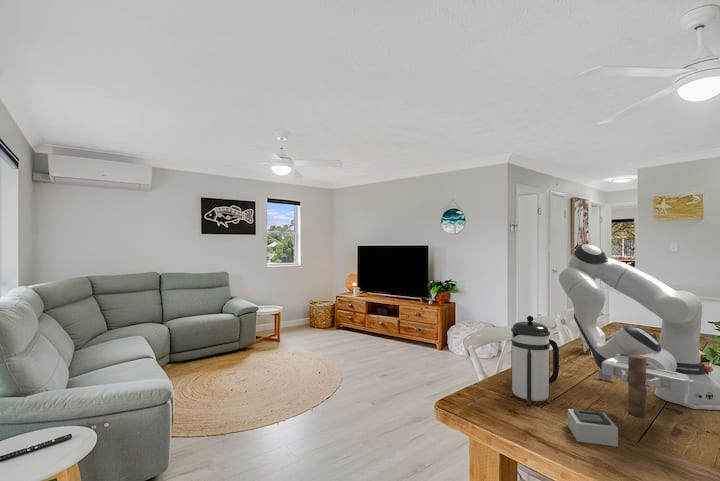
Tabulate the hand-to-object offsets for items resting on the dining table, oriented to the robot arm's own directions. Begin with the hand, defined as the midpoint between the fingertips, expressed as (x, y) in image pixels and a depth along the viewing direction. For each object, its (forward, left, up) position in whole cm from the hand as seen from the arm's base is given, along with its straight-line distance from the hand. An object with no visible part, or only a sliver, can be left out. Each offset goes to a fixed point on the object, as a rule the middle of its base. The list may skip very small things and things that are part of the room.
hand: (636, 381), depth 103 cm
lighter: (-12, -57, -18) cm, 61 cm away
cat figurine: (-19, -103, -18) cm, 107 cm away
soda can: (-45, -104, -18) cm, 115 cm away
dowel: (-1, -1, -9) cm, 10 cm away
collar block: (+10, -3, -18) cm, 21 cm away
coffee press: (+22, -27, -18) cm, 40 cm away
